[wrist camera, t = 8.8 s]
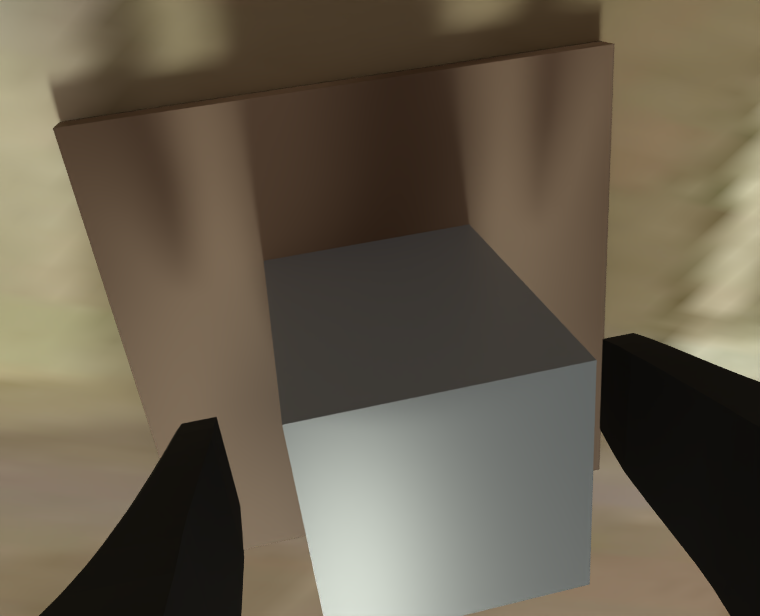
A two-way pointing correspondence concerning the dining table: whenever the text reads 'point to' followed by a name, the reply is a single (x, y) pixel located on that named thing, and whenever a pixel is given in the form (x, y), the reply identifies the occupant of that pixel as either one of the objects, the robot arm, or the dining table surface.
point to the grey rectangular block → (432, 426)
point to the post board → (332, 222)
